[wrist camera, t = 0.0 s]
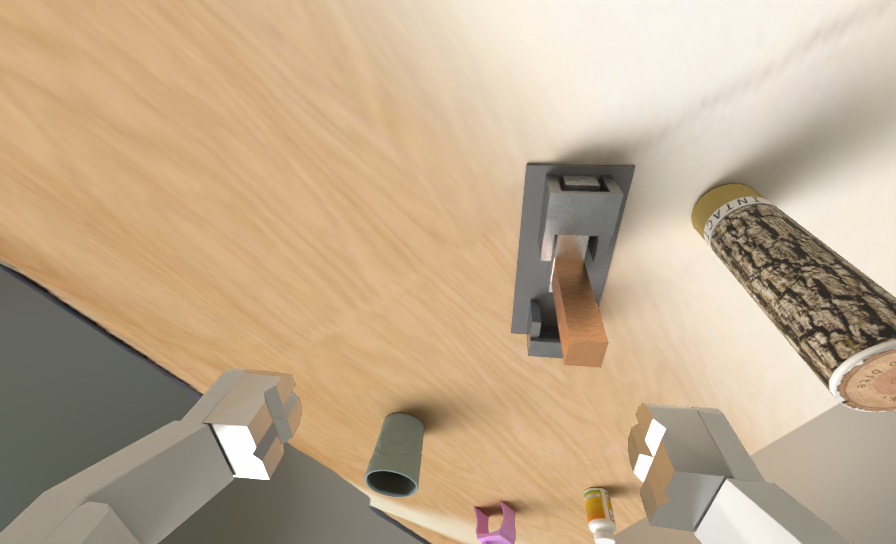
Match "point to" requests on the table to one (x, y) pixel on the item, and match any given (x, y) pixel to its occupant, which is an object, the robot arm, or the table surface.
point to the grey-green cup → (397, 457)
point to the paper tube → (807, 294)
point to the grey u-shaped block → (579, 216)
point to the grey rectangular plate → (529, 265)
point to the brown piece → (576, 292)
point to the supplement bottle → (600, 515)
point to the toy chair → (502, 539)
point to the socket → (542, 335)
